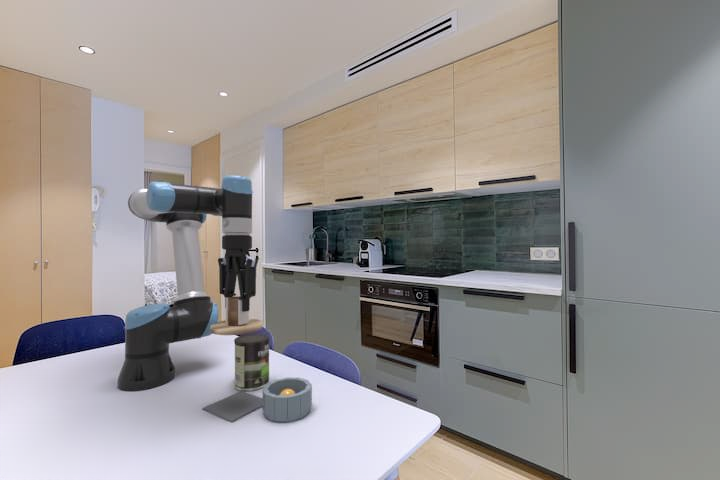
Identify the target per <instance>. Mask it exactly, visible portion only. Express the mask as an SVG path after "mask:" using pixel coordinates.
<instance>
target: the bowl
mask: <svg viewBox="0 0 720 480" xmlns="http://www.w3.org/2000/svg"><path fill="white" fill-rule="evenodd" d="M312 386H313V385H312V383H311V381H309V380H308V379H305V378H302V377H289V376H287V377H283V378H282V377H281V378H279V379H277V378H276V379H274V380H272V381H269V383H267V384H266V385H265V387H263V388H262V398H263V407H262V410H263V413H262V414H263V417H264V418H265V419H266V420H267V421H270V422H273V423H282V424H284V423H292V422H296V421H299V420H302V419H304V418H305V417H307V416H308V415H309V414H310V413H311V411H312V405H313V402H312V401H313V396H312V395H313V387H312Z"/></svg>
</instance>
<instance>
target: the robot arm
mask: <svg viewBox="0 0 720 480" xmlns="http://www.w3.org/2000/svg"><path fill="white" fill-rule="evenodd" d="M252 184H253V183H252V179H250V178H249V177H247V176H242V175H234V174H233V175H225V176H224V177H222V181H221V187H220V188H217V187H209V186H199V185H188V184H180V183H174V182H173V183H172V182H168V181H151V182H149V183H148V186H147V188H142V189H138V190H136V191H134V192H132V193H131V195H130V196H129V198H128V201H127V206H128V209H129V211H130V212H131V213H132V215H134V216H135V217H138V218H139V219H142V220H144V221H149V222H153V223H166V224H165V225H166V229H167V230H168V231H170V232H171V233H172V234H171V235H172V247H173V257H174V268H175V270H174V271H175V280H176V290H177V291H176V292H177V297H176V298H175V299H174V301H173V302H172V303H173V306H170V305H169V303H166V302H160V303H151V304H148V305H147V304H146V305H143V306H139V307H137V308H134V309H131V310H130V311H129V312H128V313H126V315H125V324H124V330H125V331H124V335H125V338H124V339H125V340H124V360H123V361H124V362H123V364H122V367H121V369H120V372H119V375H118V378H117V388H118V389H120V390H122V391H129V392H131V391H143V390H147V389H148V390H149V389H151V388H152V389H153V388H156V387H159V386H162V385H164V384H168V383H169V382H171V381H172V380H174V378H175V377H176V368H175V366H174V363H173V360H172V358H171V355H170V344H174V343H178V342H179V343H180V342H184V341H190V340H195V339H201V338H204V337H208V336H212V335H213V333H211V332H210V326H211V325H212V324H214V323H217V322H219V316H220V315H219V306H218V304H217V303H216V302H215V301H211V296H210V295H209V294H207V293H206V292H205V291H206V290H205V283H204V282H205V280H204V272H203V263H202V254H201V252H202V251H201V246H200V245H201V244H200V237H199V235H200V234H199V230H200V229H201V228H202V226H203V224H204V223H205V222H206V221H207V215H211V216H215V217H221V219H222V222H221V223H222V226H221V227H222V228H221V231H222V234H224V235H222V237H221V248H222V250H225V254H224V256H223V257H218V259H217V263H218V267H219V271H218V272H219V277H218V278H219V280H218V281H219V282H218V283H219V294H220V295H223V297H224V299H225V300H224V301H225V302H224V304H225V306H224V307H225V320H226V322H228V298H230V297H237V293H235V290H236V285H237V282H238V291H239V296H240V298H238V325H242V324H246V323H249V319H250V317H249V315H250V314H249V311H250V305H251V303H250V301H251V300H250V299H252V297H256V293H257V290H256V289H257V288H256V287H257V265H258V261H259V260H258V259H257V258H252V257H251V254H250V250H252V247H253V237H252V235H250V234H253V193H254V191H253V185H252Z"/></svg>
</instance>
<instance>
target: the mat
mask: <svg viewBox="0 0 720 480" xmlns="http://www.w3.org/2000/svg"><path fill="white" fill-rule="evenodd" d="M260 408H263V397H260V396H258V395H255V394H252V393H248V392H247V391H241V390H239V391H237V392H235V393H233V394H231V395H228V396H227V397H224V398H222V399H219V400H217V401H214V402H213V403H211V404H209V405H206V406H204V407H202V411H205V412H207V413H209V414H212V415H214V416H216V417H218V418H220V419H223V420H224V421H227V422H229V423H234V422H236V421H238V420H240V419H242V418H244V417H245V416H247V415H249V414H251V413H253V412H255V411H257V410H259V409H260Z"/></svg>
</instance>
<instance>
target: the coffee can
mask: <svg viewBox="0 0 720 480" xmlns="http://www.w3.org/2000/svg"><path fill="white" fill-rule="evenodd" d="M267 383H270V335H268V334H265V333H247V334H242V335H240V336H237V337H235V338H234V388H235V389H236V390H238V391H244V392H251V391H256V390H257V391H258V390H260V389H263V388H264V387H265V385H266V384H267Z"/></svg>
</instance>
